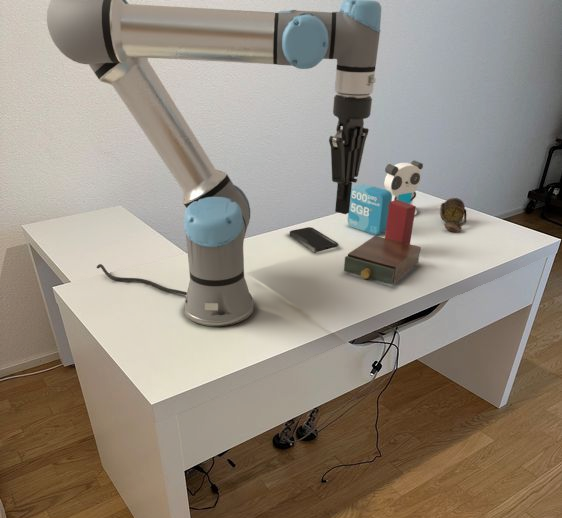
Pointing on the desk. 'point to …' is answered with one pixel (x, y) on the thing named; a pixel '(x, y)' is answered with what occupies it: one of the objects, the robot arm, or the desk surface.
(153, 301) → the desk surface
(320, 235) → the phone
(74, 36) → the robot arm
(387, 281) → the drawer
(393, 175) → the panda figurine
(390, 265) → the box
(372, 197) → the data package
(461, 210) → the vintage travel clock
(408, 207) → the card box
